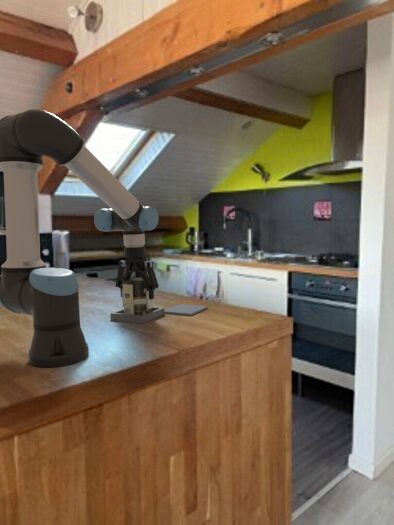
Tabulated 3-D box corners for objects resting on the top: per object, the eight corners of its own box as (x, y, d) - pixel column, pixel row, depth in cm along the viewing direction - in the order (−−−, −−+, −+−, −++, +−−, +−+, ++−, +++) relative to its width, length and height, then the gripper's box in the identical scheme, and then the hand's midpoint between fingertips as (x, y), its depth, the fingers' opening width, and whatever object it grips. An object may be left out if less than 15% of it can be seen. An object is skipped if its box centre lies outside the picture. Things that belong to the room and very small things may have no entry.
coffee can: (155, 314, 159) (154, 276, 158) (147, 321, 149) (145, 281, 147) (129, 313, 161) (127, 277, 160) (119, 320, 151) (117, 281, 150)
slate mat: (191, 315, 154) (191, 313, 154) (161, 313, 160) (161, 311, 160) (207, 308, 166) (207, 306, 166) (178, 306, 172) (178, 304, 172)
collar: (142, 323, 146) (142, 316, 145) (110, 320, 152) (110, 313, 152) (164, 314, 158) (164, 307, 158) (134, 311, 164) (133, 305, 164)
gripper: (166, 245, 150) (169, 307, 153) (116, 245, 161) (119, 303, 163) (155, 247, 144) (158, 311, 146) (103, 246, 154) (106, 307, 157)
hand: (137, 307), depth 155 cm, fingers closed on coffee can, 10 cm apart
